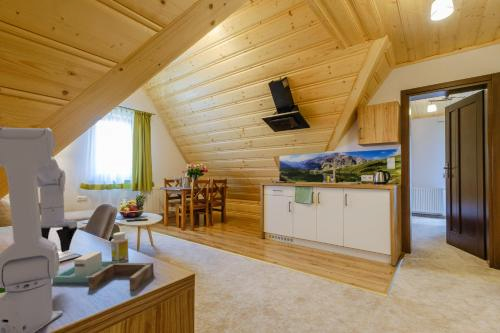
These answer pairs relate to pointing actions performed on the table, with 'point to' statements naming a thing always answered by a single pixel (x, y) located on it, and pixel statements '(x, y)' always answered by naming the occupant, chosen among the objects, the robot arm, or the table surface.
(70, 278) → the tray
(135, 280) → the bay
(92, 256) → the cream rectangular block
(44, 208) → the robot arm
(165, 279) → the table surface
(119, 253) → the supplement bottle
